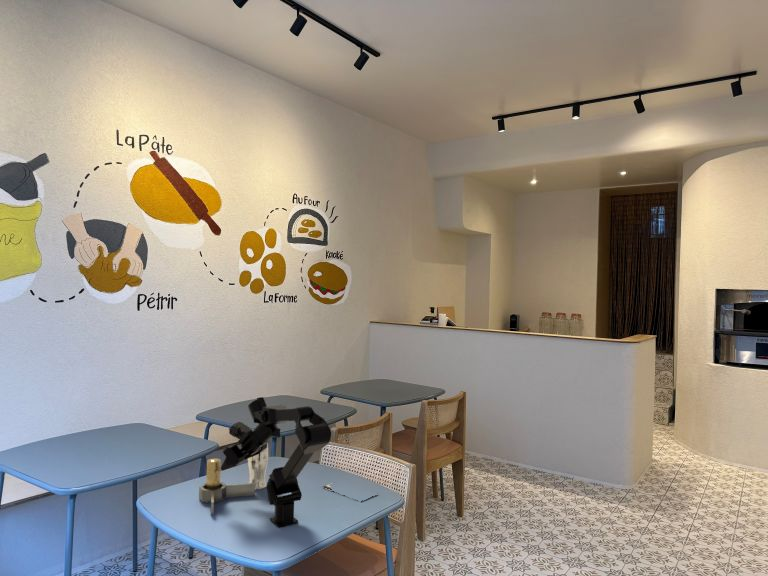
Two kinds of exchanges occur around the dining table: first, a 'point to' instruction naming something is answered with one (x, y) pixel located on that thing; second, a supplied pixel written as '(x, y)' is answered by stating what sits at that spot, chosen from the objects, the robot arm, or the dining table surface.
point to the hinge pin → (213, 474)
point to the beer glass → (258, 469)
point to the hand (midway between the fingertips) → (229, 465)
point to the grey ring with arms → (225, 492)
